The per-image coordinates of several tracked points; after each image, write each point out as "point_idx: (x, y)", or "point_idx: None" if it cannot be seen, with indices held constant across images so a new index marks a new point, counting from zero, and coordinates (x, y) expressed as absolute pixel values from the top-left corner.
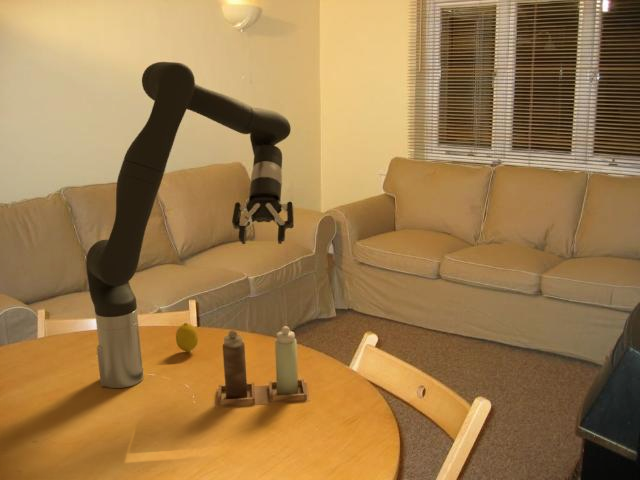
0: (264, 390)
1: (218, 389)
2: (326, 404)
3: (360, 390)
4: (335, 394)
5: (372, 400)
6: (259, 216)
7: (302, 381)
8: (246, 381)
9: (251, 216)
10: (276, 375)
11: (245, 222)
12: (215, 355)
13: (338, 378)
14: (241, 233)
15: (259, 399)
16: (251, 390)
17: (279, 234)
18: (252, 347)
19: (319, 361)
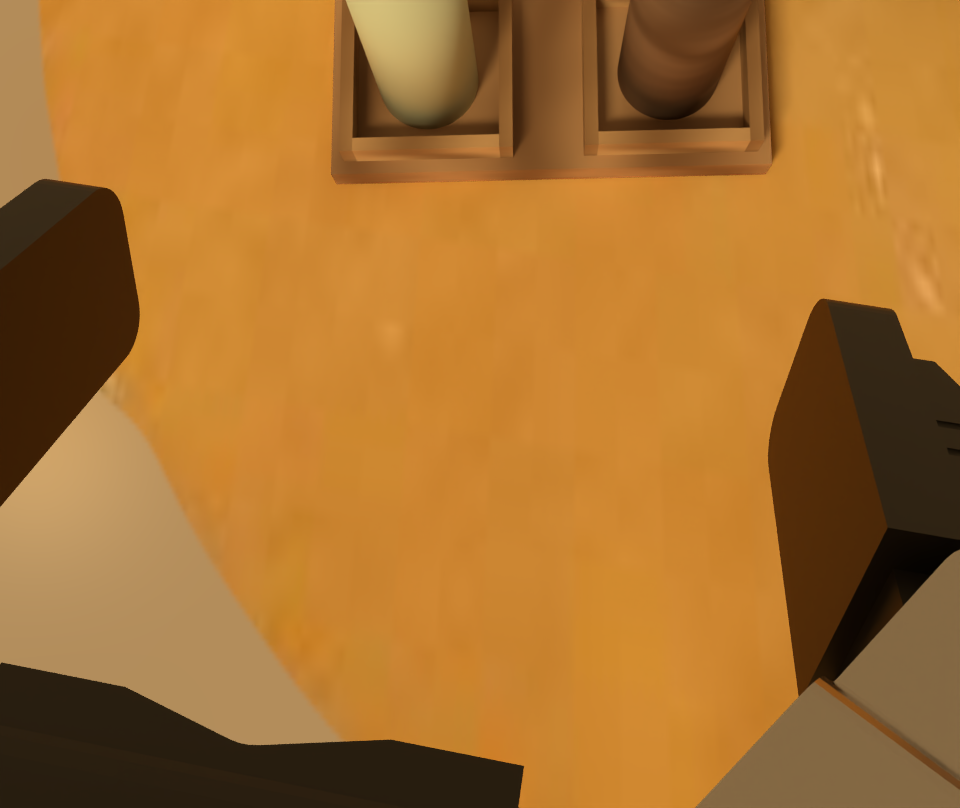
0: (536, 117)
1: (761, 158)
2: (270, 13)
3: (101, 122)
4: (217, 99)
5: (72, 24)
6: (371, 788)
7: (348, 123)
8: (625, 24)
9: (729, 780)
10: (470, 23)
11: (916, 621)
12: None
13: (175, 258)
14: (924, 393)
15: (561, 32)
16: (598, 125)
17: (15, 223)
18: (594, 746)
19: (236, 475)
